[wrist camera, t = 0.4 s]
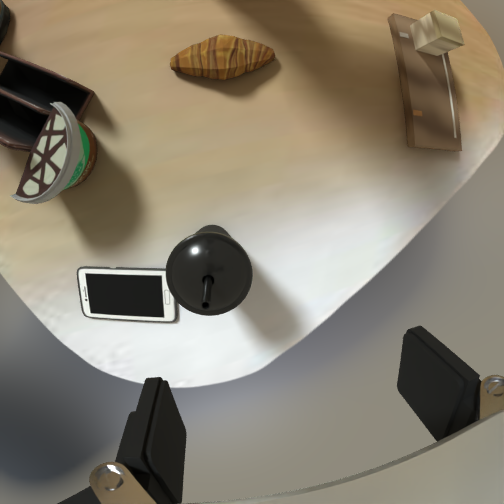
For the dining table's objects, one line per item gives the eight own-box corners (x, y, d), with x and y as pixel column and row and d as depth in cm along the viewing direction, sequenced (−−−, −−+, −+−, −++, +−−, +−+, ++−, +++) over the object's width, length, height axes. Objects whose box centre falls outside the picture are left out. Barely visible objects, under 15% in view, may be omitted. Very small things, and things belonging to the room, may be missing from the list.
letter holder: (62, 156, 35) (1, 153, 21) (-14, 112, 31) (-70, 103, 17) (96, 92, 33) (46, 61, 20) (14, 57, 29) (-37, 33, 16)
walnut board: (387, 18, 34) (393, 13, 32) (434, 31, 35) (441, 27, 33) (407, 146, 39) (415, 146, 37) (454, 151, 40) (462, 150, 38)
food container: (80, 213, 37) (44, 225, 27) (49, 193, 36) (8, 200, 26) (121, 131, 35) (92, 118, 26) (87, 113, 34) (52, 98, 24)
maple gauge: (409, 25, 33) (434, 9, 26) (431, 32, 33) (456, 18, 26) (415, 49, 34) (441, 36, 27) (437, 56, 34) (464, 44, 27)
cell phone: (178, 320, 42) (177, 323, 41) (85, 314, 41) (82, 317, 40) (175, 267, 41) (174, 270, 40) (78, 265, 39) (75, 267, 38)
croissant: (172, 91, 35) (166, 80, 30) (170, 47, 33) (164, 32, 28) (276, 81, 36) (283, 69, 31) (270, 38, 34) (276, 22, 29)
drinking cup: (254, 239, 40) (285, 297, 21) (216, 282, 41) (215, 370, 22) (208, 201, 39) (196, 225, 19) (171, 246, 39) (130, 310, 20)
